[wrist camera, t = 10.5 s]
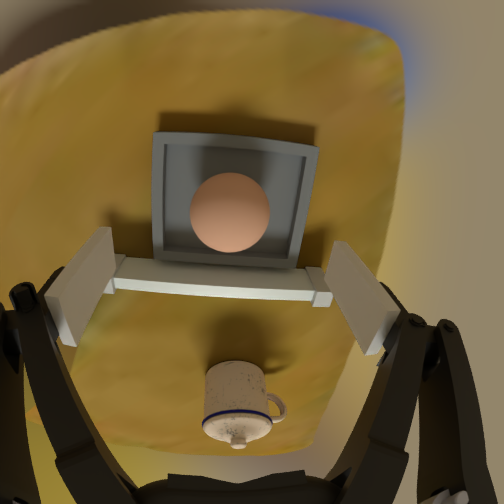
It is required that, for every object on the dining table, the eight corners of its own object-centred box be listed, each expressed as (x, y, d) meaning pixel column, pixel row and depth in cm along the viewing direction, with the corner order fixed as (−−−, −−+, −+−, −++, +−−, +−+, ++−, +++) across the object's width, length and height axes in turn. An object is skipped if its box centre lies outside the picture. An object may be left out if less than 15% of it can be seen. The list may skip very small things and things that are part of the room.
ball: (193, 230, 26) (183, 264, 20) (197, 163, 23) (185, 179, 17) (260, 235, 26) (268, 270, 21) (269, 169, 24) (282, 188, 18)
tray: (157, 251, 27) (153, 259, 25) (158, 131, 21) (153, 132, 20) (292, 260, 29) (295, 268, 27) (314, 145, 23) (319, 147, 22)
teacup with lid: (198, 387, 38) (195, 453, 28) (212, 352, 34) (210, 429, 24) (269, 397, 41) (278, 458, 31) (293, 365, 37) (309, 434, 27)
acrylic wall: (112, 267, 27) (97, 292, 23) (110, 253, 26) (94, 276, 22) (317, 281, 30) (329, 306, 26) (321, 267, 29) (334, 292, 25)
